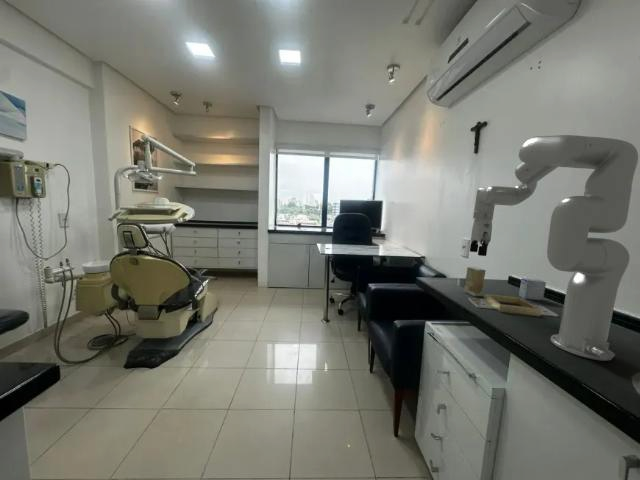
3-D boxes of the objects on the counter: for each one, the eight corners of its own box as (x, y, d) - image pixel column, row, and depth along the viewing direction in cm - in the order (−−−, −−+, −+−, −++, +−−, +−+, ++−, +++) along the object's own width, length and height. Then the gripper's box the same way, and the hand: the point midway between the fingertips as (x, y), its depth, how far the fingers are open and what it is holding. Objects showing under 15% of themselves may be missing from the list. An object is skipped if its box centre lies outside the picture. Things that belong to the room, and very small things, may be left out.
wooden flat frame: (561, 318, 98) (562, 312, 97) (479, 309, 103) (479, 302, 102) (538, 305, 111) (539, 299, 111) (466, 297, 116) (467, 292, 116)
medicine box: (536, 297, 123) (539, 279, 122) (543, 300, 119) (546, 282, 118) (518, 295, 124) (521, 277, 123) (524, 299, 120) (527, 280, 119)
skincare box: (463, 292, 125) (466, 266, 123) (470, 291, 126) (473, 266, 125) (474, 296, 119) (478, 269, 117) (482, 296, 120) (486, 269, 118)
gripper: (501, 217, 109) (495, 258, 111) (484, 215, 126) (478, 251, 128) (481, 216, 110) (475, 256, 113) (467, 214, 127) (462, 249, 130)
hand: (477, 253), depth 120 cm, fingers open, 9 cm apart
